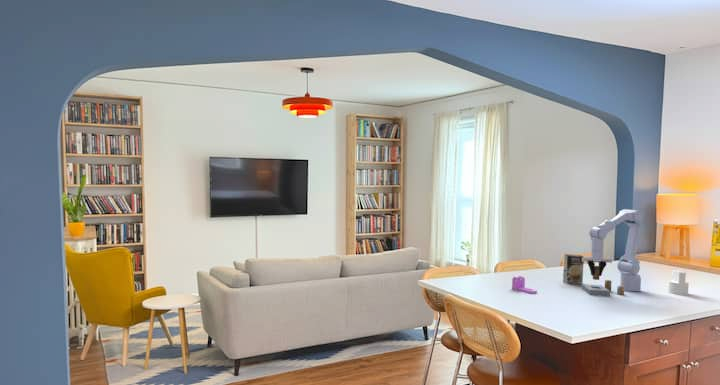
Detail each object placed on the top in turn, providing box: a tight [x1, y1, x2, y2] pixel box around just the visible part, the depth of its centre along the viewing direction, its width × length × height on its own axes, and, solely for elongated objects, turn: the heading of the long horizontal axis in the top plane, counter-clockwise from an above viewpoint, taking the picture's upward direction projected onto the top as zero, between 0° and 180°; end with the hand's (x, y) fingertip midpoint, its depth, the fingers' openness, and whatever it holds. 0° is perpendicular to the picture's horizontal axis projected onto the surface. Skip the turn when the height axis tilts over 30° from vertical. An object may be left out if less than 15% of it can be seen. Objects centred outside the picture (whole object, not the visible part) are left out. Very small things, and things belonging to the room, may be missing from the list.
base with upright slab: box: [667, 269, 689, 296], centre depth 262 cm, size 9×9×12 cm
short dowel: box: [616, 285, 625, 296], centre depth 256 cm, size 3×3×4 cm
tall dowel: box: [592, 265, 600, 281], centre depth 259 cm, size 3×3×7 cm
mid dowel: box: [604, 279, 612, 292], centre depth 264 cm, size 3×3×6 cm
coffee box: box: [562, 253, 585, 285], centre depth 282 cm, size 9×6×16 cm
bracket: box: [511, 275, 538, 295], centre depth 258 cm, size 13×6×7 cm, turn 33°
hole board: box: [581, 283, 611, 297], centre depth 259 cm, size 10×14×2 cm
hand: (596, 275), depth 259 cm, fingers closed on tall dowel, 3 cm apart
